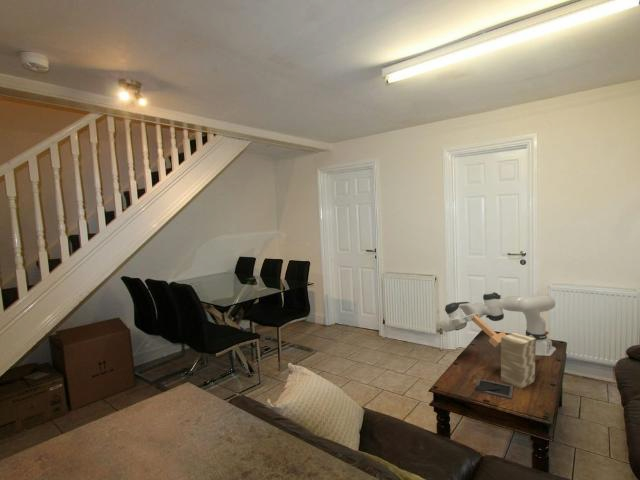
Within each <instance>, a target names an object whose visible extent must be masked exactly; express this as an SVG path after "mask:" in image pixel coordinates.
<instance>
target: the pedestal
mask: <svg viewBox="0 0 640 480" xmlns="http://www.w3.org/2000/svg"><path fill="white" fill-rule="evenodd" d="M506 335H507V336H504V337H502V338H501V345H500V381H502V382H505V383H506V384H508V385H511V386H513V387H516V388H518V389H521V390H522V389H524V388H526V387H528V386H529V385H531V384H532V383H534V382H536V381H535V380H536V378H535V358H536V355H535V350H536V338H533V337H530V336H526V334H524V333H520V332H516V331H515V332H512V333H510V334H509V333H508V334H506Z"/></svg>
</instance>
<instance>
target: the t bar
mask: <svg viewBox="0 0 640 480" xmlns="http://www.w3.org/2000/svg"><path fill="white" fill-rule="evenodd" d="M472 316H473V315H472ZM474 317H475V318H473V319H471V320H472V322H473V323H474V324H475V325H476V326H478V327H479V328H480V329H481V330H482V331H483V332H484V333H485V334H487V336H488V337H490V338H489V340H488V342H489V343H490V344H491V345H492V346H493V347H494V348H497V347H499V346H501V338H502V337H504V336H507V335H508V334H507V333H505V332H504V331H502V332H498V333H497V332H495V331H494V330H493V329H492V328H491V327H490V326H489V325H488V324H486V322H484V321H483V320H482V319H481V318H479V317H477V316H476V315H475V314H474Z"/></svg>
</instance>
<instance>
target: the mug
mask: <svg viewBox="0 0 640 480" xmlns="http://www.w3.org/2000/svg"><path fill="white" fill-rule="evenodd" d="M539 364H540V359H539V358H538V357H535V379H536V378H538V374H539Z"/></svg>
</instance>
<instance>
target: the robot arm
mask: <svg viewBox="0 0 640 480" xmlns="http://www.w3.org/2000/svg"><path fill="white" fill-rule="evenodd" d="M482 298H483V302H476V303H475V302H474V303H472V302H469V301H460V302H449V303H447V304H446V305H445V307H444V311H445V313H446V314H447V316H448V318H445V319H442V320H441V321H440V323H439V325H440V328H441V330H442V332H445V333H447V332H448V333H449V332H453V331H460V330H463V329H465V328H466V327H467V325H468V323H469V322H471V321H472V320H471V319H473V318H475V317H474V314H475V315H476V316H477V317H479V318H480V319H481V318H483V316H485V318H487V319H489V320H490V321H492V322H499V321H501V320H503V319H504V318H505V314H504V311H503V310H505V311H508V312H520V313H521V312H522V313H523V314H524V316H525V321H526V329H525V335H526V336H530V337H533V338H536V350H535V356H545V357H551V356H552V355H553V354H554V353H555V351H557V348H556V347H555V346H554V345H553V341H552V340H551V339H550V338H549V337H548V335H549V331H548V330H546V325H547V323H546V320H545V319H544V318H542V317H541V313H543V312H548V311H551V310H552V309H554V308H555V307H556V301H555V299H554V297H552V296H551V295H549V294H535V295H513V296H512V295H510V296H505V297H502V295H501V294H499V293H497V292H496V291H495V292H494V291H488V292H486V293H484V294H483V296H482ZM472 315H473V316H472ZM472 322H473V321H472Z"/></svg>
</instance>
